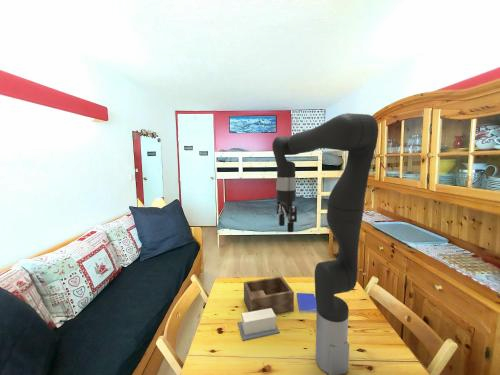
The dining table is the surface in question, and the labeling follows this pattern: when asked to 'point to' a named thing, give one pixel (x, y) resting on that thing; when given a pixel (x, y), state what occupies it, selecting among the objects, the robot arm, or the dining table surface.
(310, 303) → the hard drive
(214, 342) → the dining table surface
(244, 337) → the mat
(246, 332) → the block
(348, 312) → the robot arm
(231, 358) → the dining table surface
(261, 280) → the wooden box
